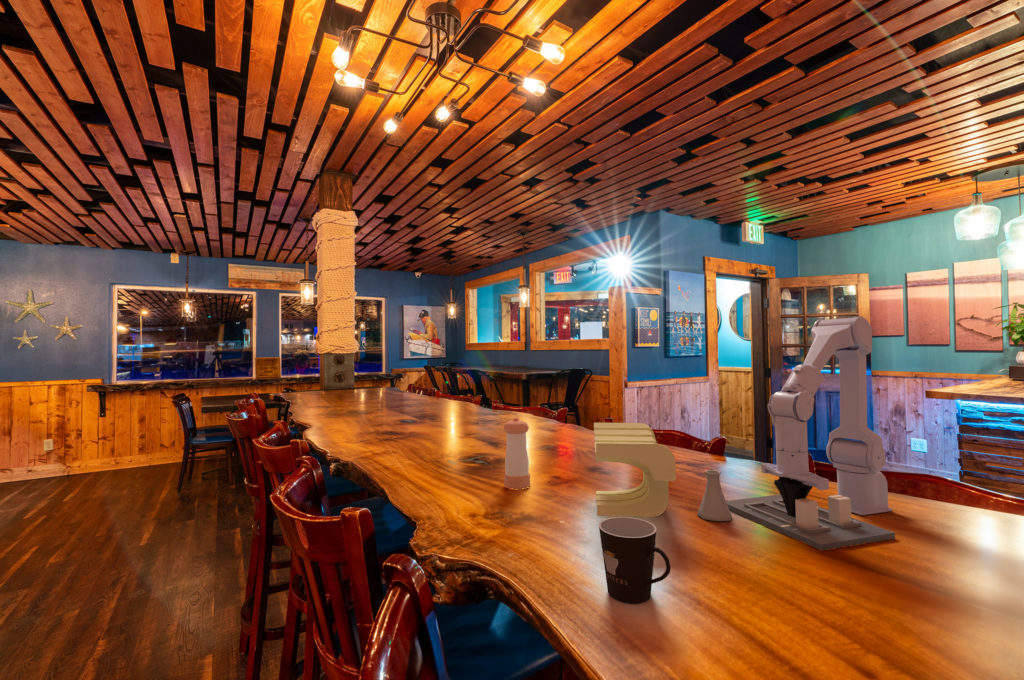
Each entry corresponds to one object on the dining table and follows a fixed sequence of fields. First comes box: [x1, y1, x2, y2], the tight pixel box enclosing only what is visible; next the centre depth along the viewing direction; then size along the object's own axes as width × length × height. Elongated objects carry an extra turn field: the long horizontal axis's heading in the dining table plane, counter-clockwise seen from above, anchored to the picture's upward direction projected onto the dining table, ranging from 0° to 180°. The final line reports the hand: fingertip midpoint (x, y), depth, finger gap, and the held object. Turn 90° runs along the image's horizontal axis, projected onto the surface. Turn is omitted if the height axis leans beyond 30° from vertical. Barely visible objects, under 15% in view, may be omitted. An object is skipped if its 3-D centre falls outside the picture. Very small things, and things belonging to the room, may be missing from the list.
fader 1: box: [795, 497, 819, 529], centre depth 92 cm, size 3×2×5 cm
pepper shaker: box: [503, 417, 531, 489], centre depth 129 cm, size 7×7×19 cm
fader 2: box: [827, 494, 852, 524], centre depth 94 cm, size 3×2×5 cm
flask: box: [697, 469, 733, 522], centre depth 102 cm, size 7×7×10 cm
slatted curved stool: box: [593, 422, 677, 518], centre depth 110 cm, size 30×16×18 cm, turn 171°
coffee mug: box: [598, 516, 672, 605], centre depth 69 cm, size 12×9×10 cm
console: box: [726, 493, 896, 552], centre depth 99 cm, size 18×26×2 cm
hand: (794, 515), depth 95 cm, fingers closed
